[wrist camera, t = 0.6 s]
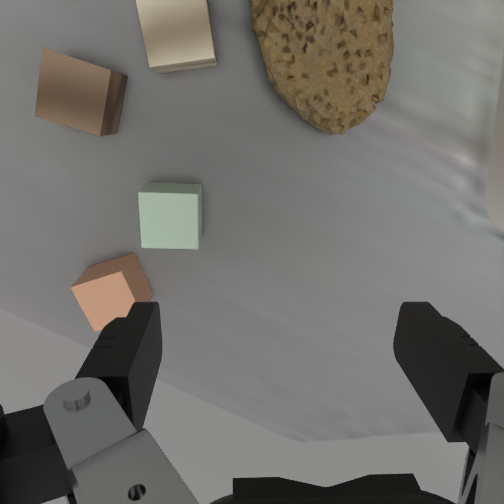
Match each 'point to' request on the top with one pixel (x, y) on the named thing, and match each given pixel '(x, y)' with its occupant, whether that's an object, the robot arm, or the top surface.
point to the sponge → (327, 56)
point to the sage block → (171, 215)
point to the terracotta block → (111, 289)
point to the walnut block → (79, 94)
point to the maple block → (177, 34)
